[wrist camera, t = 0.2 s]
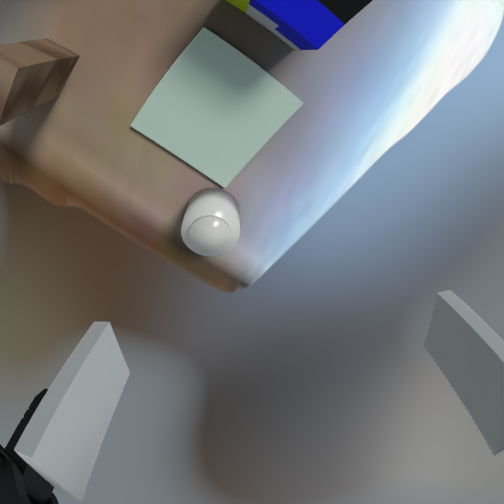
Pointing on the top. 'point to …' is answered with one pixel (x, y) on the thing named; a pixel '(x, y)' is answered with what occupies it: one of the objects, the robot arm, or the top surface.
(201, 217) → the sugar bowl
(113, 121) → the top surface
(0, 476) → the robot arm
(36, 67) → the walnut block
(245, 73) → the pad
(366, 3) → the puzzle toy
